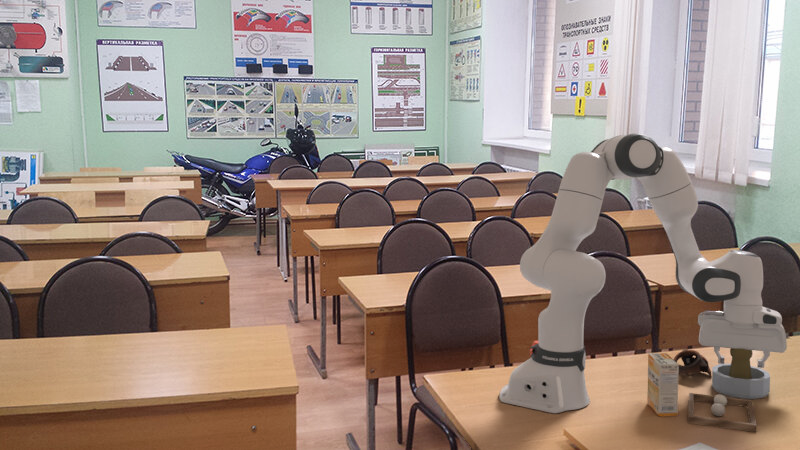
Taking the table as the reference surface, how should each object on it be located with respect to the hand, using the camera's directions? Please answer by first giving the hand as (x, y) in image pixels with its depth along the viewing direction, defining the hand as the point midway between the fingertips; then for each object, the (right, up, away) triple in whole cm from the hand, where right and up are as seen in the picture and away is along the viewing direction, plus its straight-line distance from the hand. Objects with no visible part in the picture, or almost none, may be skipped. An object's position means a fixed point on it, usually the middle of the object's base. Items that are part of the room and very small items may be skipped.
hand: (740, 365), depth 174 cm
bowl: (0, -7, +1) cm, 7 cm away
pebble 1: (-10, -8, -10) cm, 16 cm away
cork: (0, -6, +1) cm, 6 cm away
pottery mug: (-7, -6, +13) cm, 16 cm away
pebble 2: (-14, -6, -16) cm, 22 cm away
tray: (-12, -9, -14) cm, 21 cm away
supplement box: (-25, -9, -11) cm, 29 cm away
